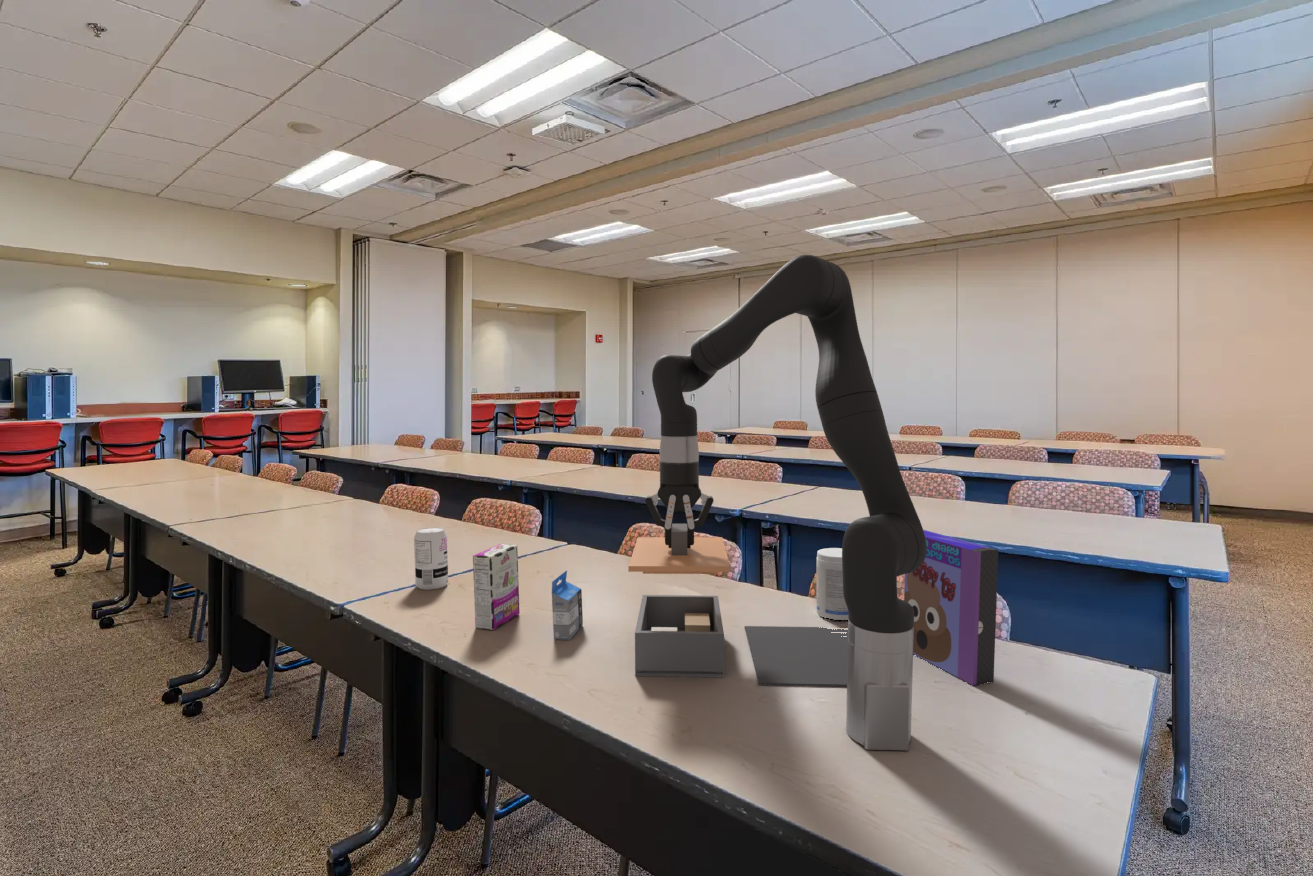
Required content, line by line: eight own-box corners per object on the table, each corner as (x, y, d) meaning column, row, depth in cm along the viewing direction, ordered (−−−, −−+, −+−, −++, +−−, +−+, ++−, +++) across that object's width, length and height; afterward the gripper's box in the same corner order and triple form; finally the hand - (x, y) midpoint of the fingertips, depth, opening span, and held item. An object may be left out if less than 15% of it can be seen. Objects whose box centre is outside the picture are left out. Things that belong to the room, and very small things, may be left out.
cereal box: (902, 649, 131) (905, 530, 130) (921, 646, 133) (925, 529, 131) (972, 686, 115) (977, 551, 113) (993, 682, 117) (998, 548, 115)
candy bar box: (501, 612, 154) (500, 543, 153) (520, 614, 152) (519, 544, 151) (473, 628, 144) (471, 554, 142) (493, 631, 142) (491, 556, 141)
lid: (722, 546, 140) (722, 516, 140) (730, 577, 117) (730, 541, 116) (637, 546, 141) (637, 516, 141) (628, 577, 117) (628, 541, 117)
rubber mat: (897, 687, 115) (897, 685, 115) (759, 685, 116) (759, 683, 116) (856, 629, 143) (856, 627, 143) (744, 627, 144) (744, 626, 144)
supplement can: (414, 583, 177) (412, 528, 176) (446, 580, 180) (444, 525, 179) (417, 592, 170) (415, 534, 168) (450, 588, 173) (449, 531, 172)
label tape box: (570, 640, 137) (569, 582, 136) (551, 639, 137) (550, 581, 136) (583, 625, 145) (582, 571, 144) (565, 624, 146) (565, 570, 145)
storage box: (717, 632, 141) (717, 595, 140) (723, 677, 119) (723, 633, 118) (642, 631, 142) (642, 595, 141) (635, 675, 120) (634, 632, 119)
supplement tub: (868, 617, 150) (869, 553, 149) (839, 625, 145) (840, 559, 144) (835, 605, 158) (836, 545, 157) (807, 613, 153) (807, 550, 152)
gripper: (641, 461, 124) (642, 551, 125) (716, 461, 124) (716, 552, 125) (644, 457, 132) (644, 543, 133) (714, 457, 131) (714, 543, 132)
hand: (679, 546), depth 129 cm, fingers closed on lid, 3 cm apart
